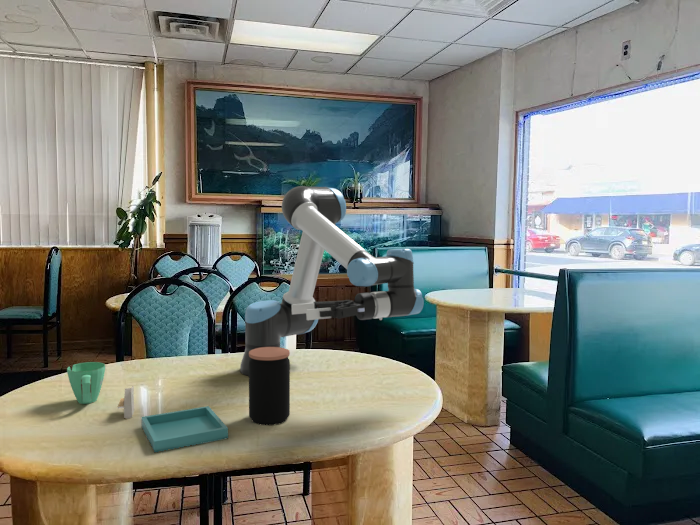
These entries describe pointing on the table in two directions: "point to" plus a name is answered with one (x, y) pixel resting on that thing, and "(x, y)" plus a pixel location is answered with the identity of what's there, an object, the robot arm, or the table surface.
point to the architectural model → (127, 402)
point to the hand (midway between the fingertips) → (298, 312)
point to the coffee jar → (269, 385)
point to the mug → (86, 380)
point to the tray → (183, 428)
